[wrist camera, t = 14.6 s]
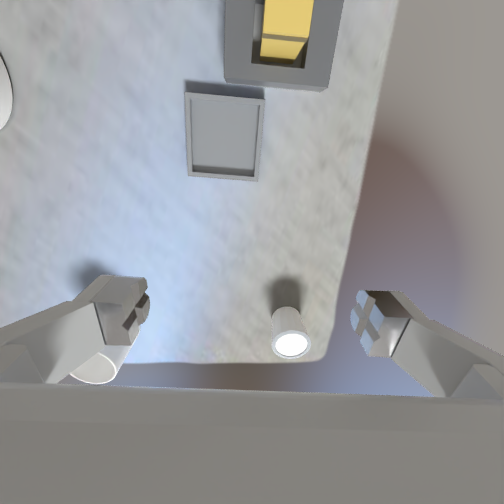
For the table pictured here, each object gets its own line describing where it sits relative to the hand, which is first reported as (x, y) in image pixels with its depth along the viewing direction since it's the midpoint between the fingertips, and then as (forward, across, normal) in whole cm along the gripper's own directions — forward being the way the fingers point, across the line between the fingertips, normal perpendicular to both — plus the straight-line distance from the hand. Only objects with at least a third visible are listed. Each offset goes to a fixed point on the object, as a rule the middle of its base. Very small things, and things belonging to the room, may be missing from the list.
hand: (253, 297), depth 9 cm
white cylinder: (+29, -9, +26) cm, 40 cm away
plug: (+28, -2, -16) cm, 32 cm away
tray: (+29, +4, -5) cm, 29 cm away
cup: (+29, +24, +28) cm, 47 cm away
